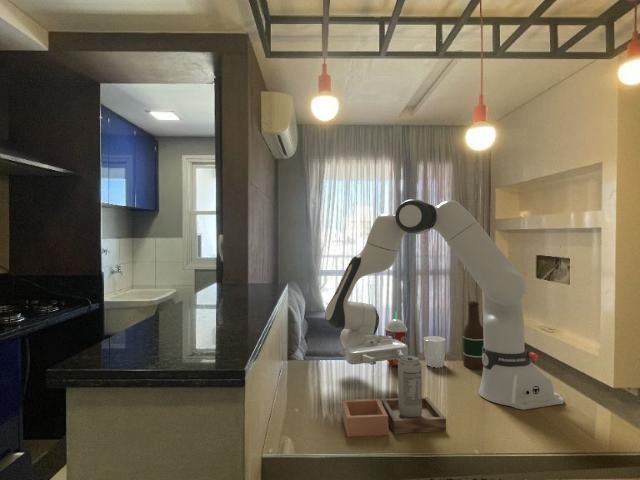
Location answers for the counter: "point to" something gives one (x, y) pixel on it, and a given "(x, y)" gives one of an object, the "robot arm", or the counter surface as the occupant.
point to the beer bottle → (473, 339)
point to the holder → (364, 417)
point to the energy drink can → (409, 387)
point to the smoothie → (396, 334)
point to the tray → (426, 423)
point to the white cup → (434, 351)
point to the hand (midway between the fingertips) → (388, 359)
